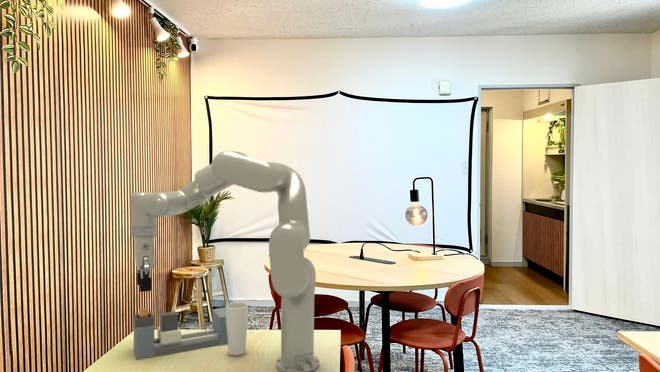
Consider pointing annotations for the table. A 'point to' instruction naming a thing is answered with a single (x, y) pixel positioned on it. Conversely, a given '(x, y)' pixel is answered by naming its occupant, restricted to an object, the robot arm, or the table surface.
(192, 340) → the rail track
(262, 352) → the table surface
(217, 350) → the table surface
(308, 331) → the robot arm
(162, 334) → the carriage
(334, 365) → the table surface
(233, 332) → the drinking glass
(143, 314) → the button
